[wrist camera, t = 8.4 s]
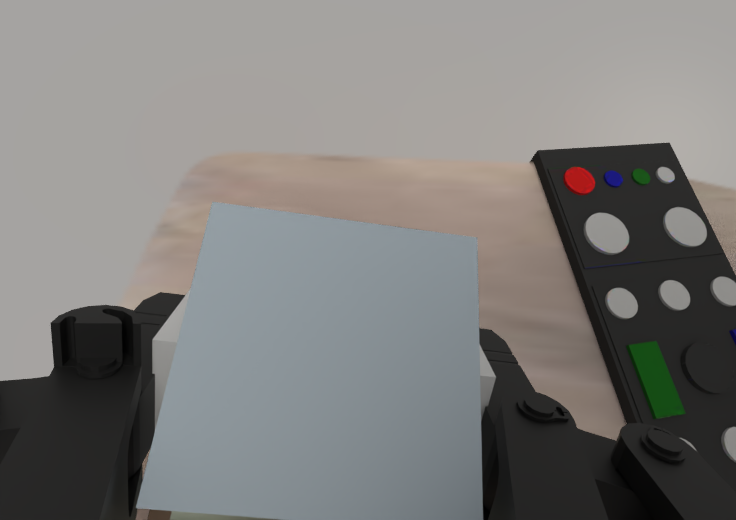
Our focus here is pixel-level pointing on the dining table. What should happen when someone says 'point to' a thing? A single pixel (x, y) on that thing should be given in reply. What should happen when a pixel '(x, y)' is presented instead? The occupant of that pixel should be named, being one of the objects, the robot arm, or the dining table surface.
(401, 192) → the dining table surface
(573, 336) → the dining table surface
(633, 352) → the remote control
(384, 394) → the slate block
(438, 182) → the dining table surface
